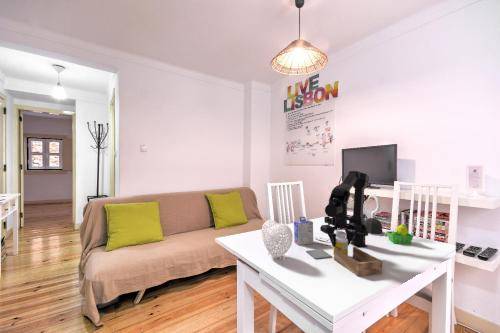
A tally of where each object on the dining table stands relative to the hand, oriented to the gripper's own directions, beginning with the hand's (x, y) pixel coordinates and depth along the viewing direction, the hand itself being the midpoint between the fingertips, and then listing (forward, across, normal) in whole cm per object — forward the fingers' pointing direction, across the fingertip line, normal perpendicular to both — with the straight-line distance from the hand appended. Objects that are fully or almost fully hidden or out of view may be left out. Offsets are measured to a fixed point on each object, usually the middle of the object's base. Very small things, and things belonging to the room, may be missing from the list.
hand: (340, 245), depth 108 cm
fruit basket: (+5, -45, -9) cm, 47 cm away
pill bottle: (+5, 0, 0) cm, 5 cm away
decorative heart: (+5, +31, -6) cm, 32 cm away
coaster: (+5, +9, -4) cm, 11 cm away
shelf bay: (+5, 0, +11) cm, 12 cm away
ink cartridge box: (+5, +9, -21) cm, 24 cm away
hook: (+5, -44, -28) cm, 53 cm away
